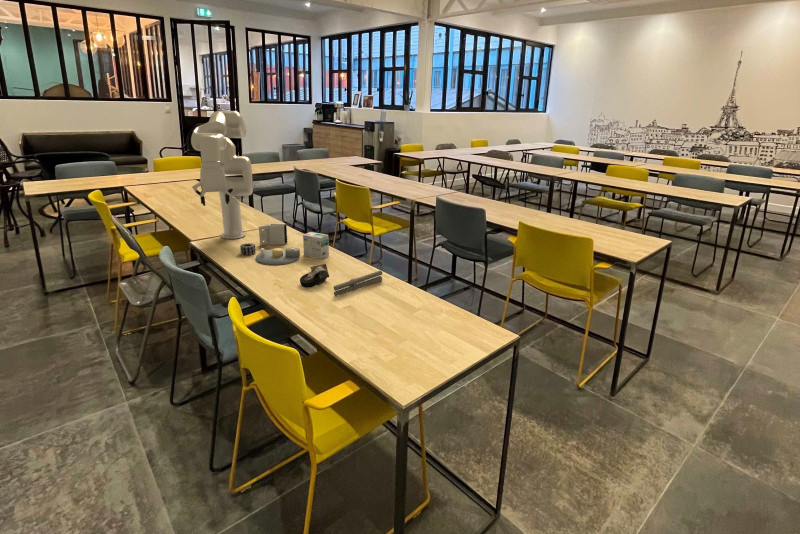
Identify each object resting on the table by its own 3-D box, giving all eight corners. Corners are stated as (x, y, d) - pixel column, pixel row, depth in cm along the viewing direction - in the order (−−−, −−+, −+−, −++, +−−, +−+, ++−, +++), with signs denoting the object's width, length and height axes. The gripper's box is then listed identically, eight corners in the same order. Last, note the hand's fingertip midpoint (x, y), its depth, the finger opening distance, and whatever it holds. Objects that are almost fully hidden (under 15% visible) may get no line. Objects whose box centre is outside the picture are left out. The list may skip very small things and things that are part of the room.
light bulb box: (329, 255, 226) (329, 234, 222) (321, 259, 220) (321, 237, 217) (311, 251, 230) (310, 231, 226) (303, 255, 224) (302, 234, 221)
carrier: (259, 251, 228) (259, 242, 227) (301, 251, 231) (301, 242, 229) (252, 265, 210) (251, 255, 208) (298, 264, 212) (297, 255, 211)
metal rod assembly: (378, 279, 200) (378, 269, 198) (382, 281, 198) (383, 270, 196) (332, 296, 182) (331, 284, 180) (336, 298, 180) (336, 286, 178)
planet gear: (242, 250, 228) (241, 243, 226) (256, 250, 228) (256, 243, 227) (239, 255, 221) (239, 247, 220) (254, 255, 222) (253, 247, 221)
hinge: (260, 245, 236) (258, 226, 233) (259, 242, 241) (258, 224, 238) (287, 244, 240) (286, 225, 237) (287, 241, 245) (286, 223, 242)
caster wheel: (301, 293, 188) (303, 281, 197) (328, 288, 188) (329, 276, 197) (297, 280, 185) (299, 268, 194) (324, 274, 185) (325, 263, 194)
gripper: (230, 163, 204) (234, 201, 210) (188, 164, 196) (193, 204, 202) (234, 165, 198) (237, 204, 204) (190, 167, 190) (195, 207, 196)
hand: (215, 204), depth 203 cm, fingers open, 9 cm apart
